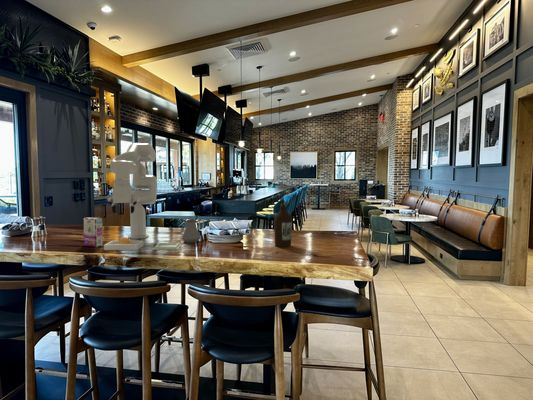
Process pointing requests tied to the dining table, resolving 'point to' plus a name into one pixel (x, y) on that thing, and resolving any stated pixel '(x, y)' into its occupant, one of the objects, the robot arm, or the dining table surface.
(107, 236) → the dining table surface
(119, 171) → the robot arm
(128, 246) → the shallow white tray
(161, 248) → the tray
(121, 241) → the ball
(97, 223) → the candy bar box
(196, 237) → the coffee pot
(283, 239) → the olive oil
